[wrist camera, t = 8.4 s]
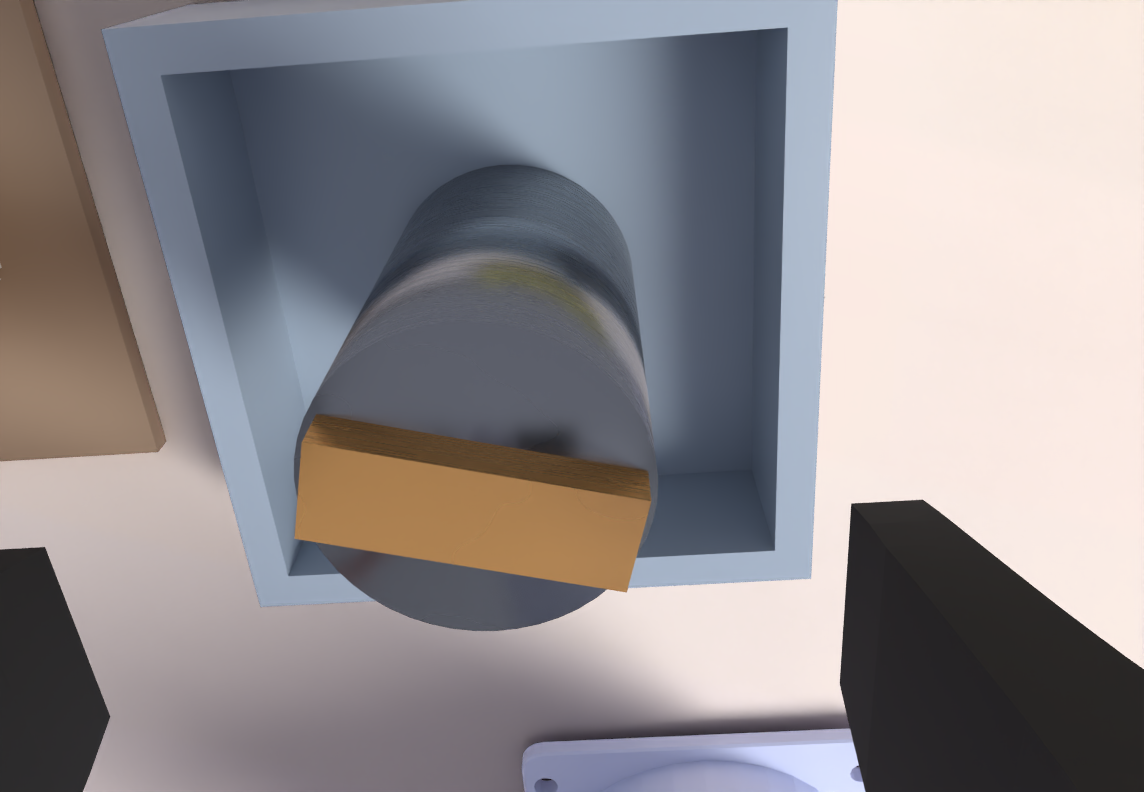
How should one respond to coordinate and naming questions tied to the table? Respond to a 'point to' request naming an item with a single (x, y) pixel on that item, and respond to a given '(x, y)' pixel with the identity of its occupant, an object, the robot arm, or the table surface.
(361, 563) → the cylinder with rectangular bar
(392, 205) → the bin
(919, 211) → the table surface
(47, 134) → the socket plate
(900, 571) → the robot arm
